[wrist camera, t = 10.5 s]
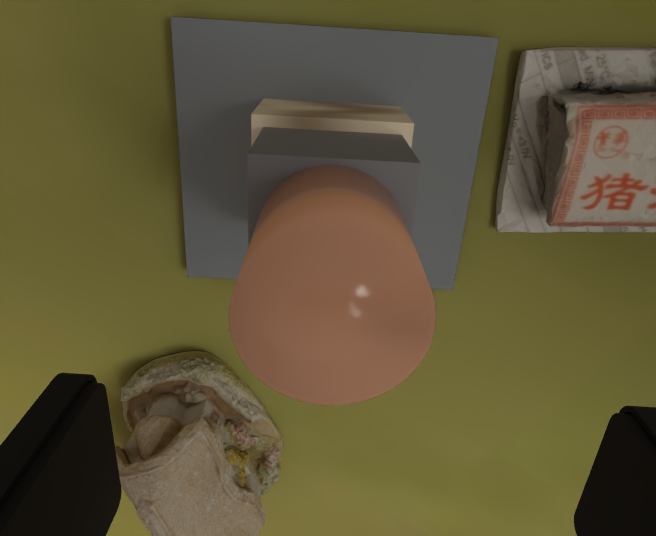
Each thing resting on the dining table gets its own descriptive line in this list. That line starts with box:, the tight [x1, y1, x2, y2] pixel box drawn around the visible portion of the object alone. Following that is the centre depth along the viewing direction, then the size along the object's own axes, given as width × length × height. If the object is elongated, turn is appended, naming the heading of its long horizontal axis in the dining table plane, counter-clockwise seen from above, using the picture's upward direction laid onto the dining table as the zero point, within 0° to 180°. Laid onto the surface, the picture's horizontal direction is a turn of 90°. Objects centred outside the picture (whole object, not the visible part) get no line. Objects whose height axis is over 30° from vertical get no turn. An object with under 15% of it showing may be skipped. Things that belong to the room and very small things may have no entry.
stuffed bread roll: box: [115, 351, 284, 536], centre depth 33 cm, size 14×11×10 cm
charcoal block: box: [247, 127, 421, 247], centre depth 22 cm, size 6×6×5 cm
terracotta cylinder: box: [229, 165, 436, 405], centre depth 17 cm, size 6×6×6 cm
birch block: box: [251, 98, 414, 148], centre depth 26 cm, size 7×7×5 cm
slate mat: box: [171, 17, 499, 290], centre depth 29 cm, size 16×14×1 cm
